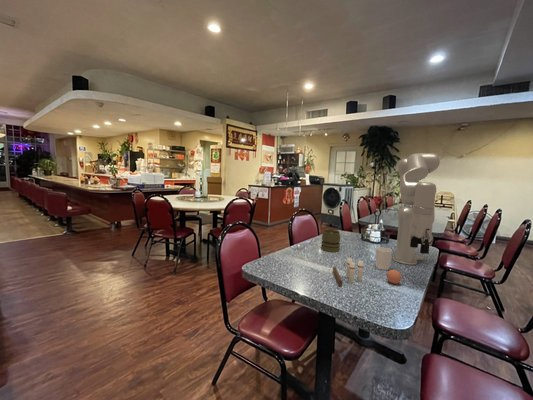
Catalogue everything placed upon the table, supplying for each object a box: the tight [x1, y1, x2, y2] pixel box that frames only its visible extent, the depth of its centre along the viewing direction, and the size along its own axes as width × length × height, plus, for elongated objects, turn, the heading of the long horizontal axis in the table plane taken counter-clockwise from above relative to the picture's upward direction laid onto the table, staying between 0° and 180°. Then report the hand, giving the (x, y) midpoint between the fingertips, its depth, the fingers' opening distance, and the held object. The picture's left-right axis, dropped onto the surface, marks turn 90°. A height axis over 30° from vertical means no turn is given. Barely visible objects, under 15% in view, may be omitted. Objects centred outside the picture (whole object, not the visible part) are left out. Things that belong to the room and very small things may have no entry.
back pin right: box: [345, 257, 353, 279], centre depth 113 cm, size 2×2×9 cm
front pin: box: [356, 260, 364, 282], centre depth 111 cm, size 2×2×9 cm
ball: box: [386, 269, 403, 285], centre depth 109 cm, size 6×6×6 cm
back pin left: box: [348, 261, 356, 284], centre depth 109 cm, size 2×2×9 cm
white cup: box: [375, 246, 393, 271], centre depth 128 cm, size 8×8×10 cm
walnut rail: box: [332, 266, 343, 288], centre depth 112 cm, size 1×16×2 cm, turn 174°
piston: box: [321, 229, 341, 253], centre depth 156 cm, size 11×12×11 cm
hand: (418, 250), depth 107 cm, fingers open, 8 cm apart
